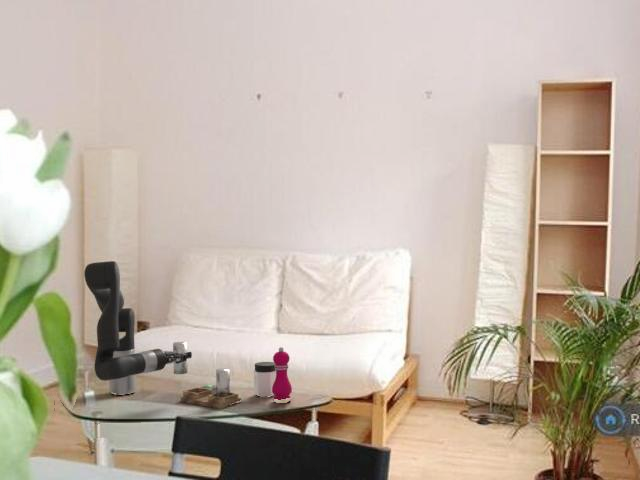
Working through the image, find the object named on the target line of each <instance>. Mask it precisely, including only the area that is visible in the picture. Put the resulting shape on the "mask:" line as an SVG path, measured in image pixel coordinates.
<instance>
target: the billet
mask: <svg viewBox="0 0 640 480" xmlns="http://www.w3.org/2000/svg"><path fill="white" fill-rule="evenodd" d="M172 349H173V350H172V352H173V353H175V352H177V353H186V352H188V342H187V341H175V342H173V343H172ZM175 356H176V355H175ZM175 358H176V357H175ZM172 364H173V365H172V366H173V374H174V375H185V374H188V360H187V361H184V362H181V363H178V364H177V363H172Z"/></svg>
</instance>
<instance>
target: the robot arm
mask: <svg viewBox="0 0 640 480" xmlns="http://www.w3.org/2000/svg"><path fill="white" fill-rule="evenodd" d="M83 273H84V275H83V276H84V281H85V284H86V286H87V287H88V289H89V290H90V292H91V293H92V295H93V296H94V298H95V301H96V304H97V306H98V308H99V310H100V312H101V315H100V316H99V318H98V320H97V325H96V336H97V337H96V338H97V339H96V341H97V348H96V349H97V350H96V353H95V354H96V355H95V360H94V372H95V375H96V376H97V377H96V378H98V379H99V380H101V381H108V383H109V391H110V390H111V392H113V393H116V394H128V393H131V392H133V391H135V389H136V375H140V374H148V373H152V372H157V371H162V370H164V369H165V367H166V365H172V364H173V363H177V364H178V363H181V362H184V361H187V362H188V360H189V359H192V356H193V355H192V354H193V353H192V351H187V352H186V353H177V352H175V353H173V350H172V351H171V350H170V351H169V350H164V351H163V349H160V348H155V349H149V350H144V351H143V350H142V351H141V352H137V353H135V350H136V349H135V348H136V347H135V324H136V322H135V312H134V309H133V308H130V307H126V308H125V307H124V305H125V299H124V295H123V292H122V291H121V289H120V288H121V274H120V269H119V265H118V262H116V261H114V260H113V261H111V260H110V261H108V260H107V261H101V262H100V261H99V262H92V263H88V264H87V265H86V266H85V269H84V272H83ZM120 333H125V335H124V336H122V337H120ZM175 355H176V356H175ZM175 357H176V358H175Z"/></svg>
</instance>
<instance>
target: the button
mask: <svg viewBox="0 0 640 480" xmlns="http://www.w3.org/2000/svg"><path fill="white" fill-rule="evenodd" d="M203 386H204V388H208V389H209V388H212V384H205V385H203Z"/></svg>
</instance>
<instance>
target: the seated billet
mask: <svg viewBox="0 0 640 480" xmlns="http://www.w3.org/2000/svg"><path fill="white" fill-rule="evenodd" d="M215 386H216V396H218V397H227V396H230V392H231V371H230V368H226V367H225V368H218V369H217V368H216V369H215Z"/></svg>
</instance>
